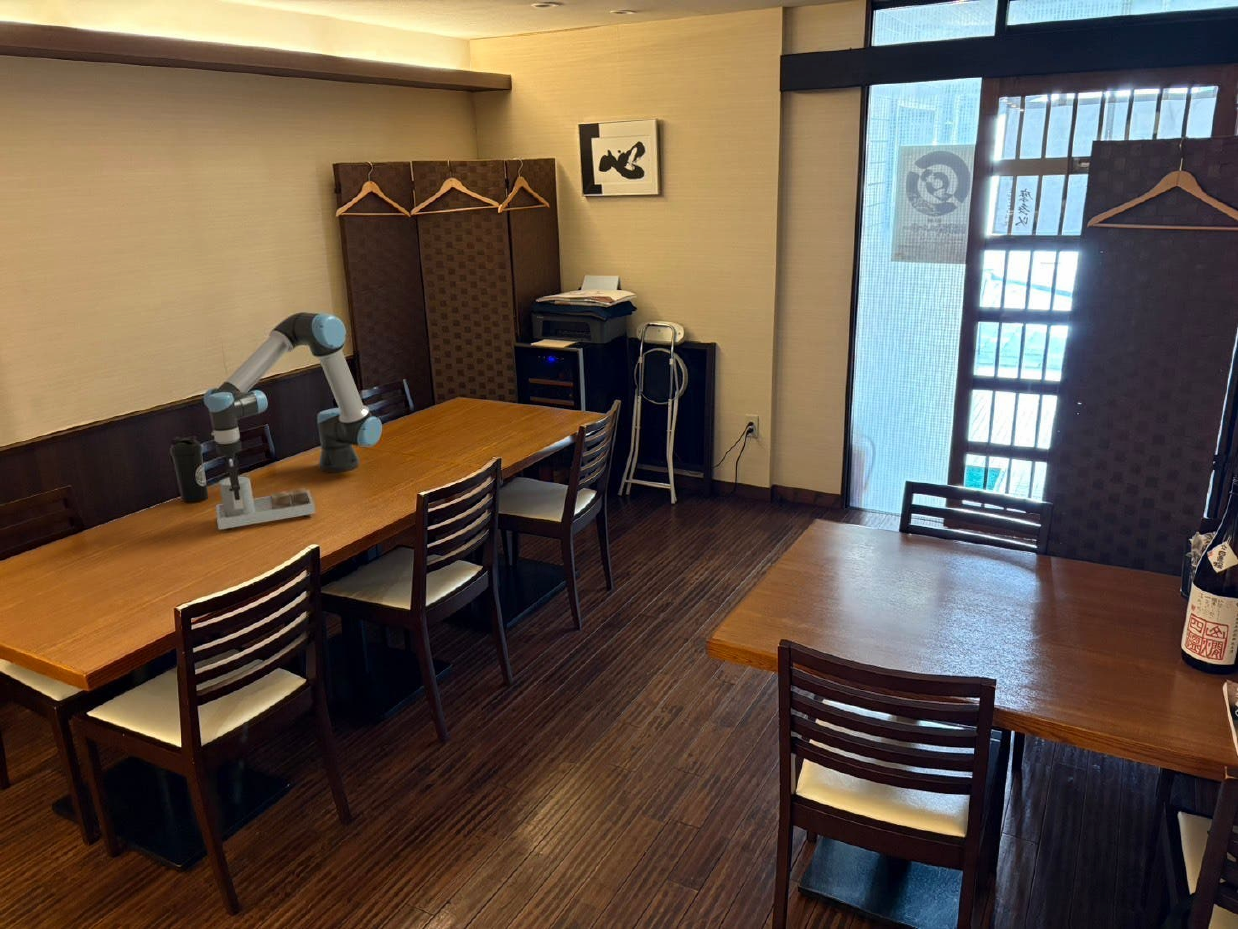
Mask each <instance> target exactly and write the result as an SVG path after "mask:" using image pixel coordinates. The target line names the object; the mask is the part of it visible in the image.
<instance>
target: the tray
mask: <svg viewBox="0 0 1238 929" xmlns="http://www.w3.org/2000/svg"><path fill="white" fill-rule="evenodd" d="M306 492H307V498H308V504H302V505H296V506H292V502H291V495H290V492H287V493H288V494H289V497H290V504H291V506H290V507H284V508H278V509H273V508H272V504H271V497H270V495H269V496H263V497H262V496H261V497H256V498H253V501H254V507H255V512H253V513H247V514H241V515H235V516H229V517H225V513H224V507H223V503H217V504H216V505H215V510H216V522H217V527H218V530H224V529H225V530H226V531H232V530H233V528H236V527H242V526H248V525H253V524H260V523H266V522H272V521H273V522H274V521H277V520H284V519H290V518H296V517H301V516H303V518H308V517H309V515H313V514H316V508H315V502H314V500H313V497H312V495H311V492H310V489H307V490H306Z"/></svg>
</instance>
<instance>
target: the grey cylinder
mask: <svg viewBox="0 0 1238 929" xmlns="http://www.w3.org/2000/svg"><path fill="white" fill-rule="evenodd" d="M238 480H239V486H240V489H241V495H242V501H243V507H244V508H241V509H235V508H234V502H233V497H232V491H229V489H231V482H230V476H228V477H224V478H222V479H220V480H219V481H218V484H219V490H220V495H221V501H222V504H223V507H224V513H225V517H229V516H235V515H241V514H247V513H253V512H255V507H254V501H253V499H254V496H253V491H252V490H253V489H252V485H251V484H252V483H251V477H250V476H247V475H240V476H238ZM233 487H235V486H233Z"/></svg>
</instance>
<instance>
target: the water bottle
mask: <svg viewBox="0 0 1238 929" xmlns="http://www.w3.org/2000/svg"><path fill="white" fill-rule="evenodd" d="M196 439H198V438H197V436H195V435H194V436H189V437H183V438H181V436H177V437H175V438H173V439H172V440H171V441H170V442H171V446H170V448H169V452H170V453H169V454H170V456H171V457H172V461H173V466H174V470H175V474H176V480H177V483H178V489H179V492H180V496H181V500H182V503H183V504H189V505H190V504H197V503H201V502H202V503H203V502H205V501H207V500H208V499H209V493H208V485H207V481H206V473H205V466H204V460H203V454H202V451H203V447H202V444H201V443H200V442H199V441H198V440H196Z"/></svg>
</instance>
